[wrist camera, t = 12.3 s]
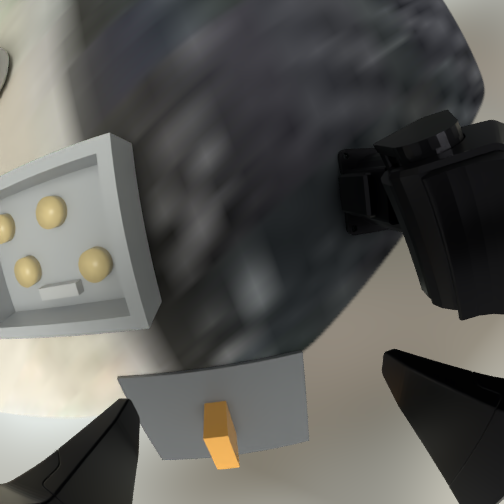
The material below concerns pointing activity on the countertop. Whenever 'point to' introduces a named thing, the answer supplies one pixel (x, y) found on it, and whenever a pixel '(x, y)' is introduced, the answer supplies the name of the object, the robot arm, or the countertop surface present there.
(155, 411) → the grey lid
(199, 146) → the countertop surface
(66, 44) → the countertop surface
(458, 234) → the robot arm
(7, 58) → the can
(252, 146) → the countertop surface
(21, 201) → the tub
